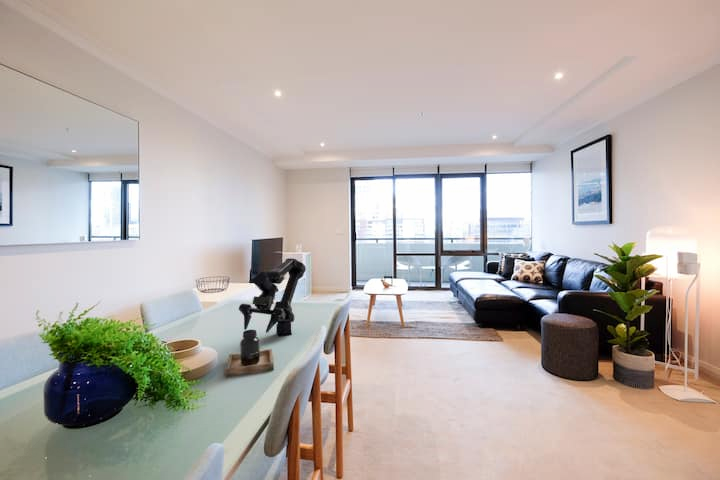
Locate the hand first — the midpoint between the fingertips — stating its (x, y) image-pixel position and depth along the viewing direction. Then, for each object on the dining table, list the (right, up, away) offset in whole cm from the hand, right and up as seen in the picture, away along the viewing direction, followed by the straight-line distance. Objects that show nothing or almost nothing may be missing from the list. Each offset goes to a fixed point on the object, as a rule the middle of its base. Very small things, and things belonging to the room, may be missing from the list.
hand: (255, 331), depth 127 cm
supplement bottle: (+1, -10, -9) cm, 13 cm away
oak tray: (+1, -10, -9) cm, 14 cm away
